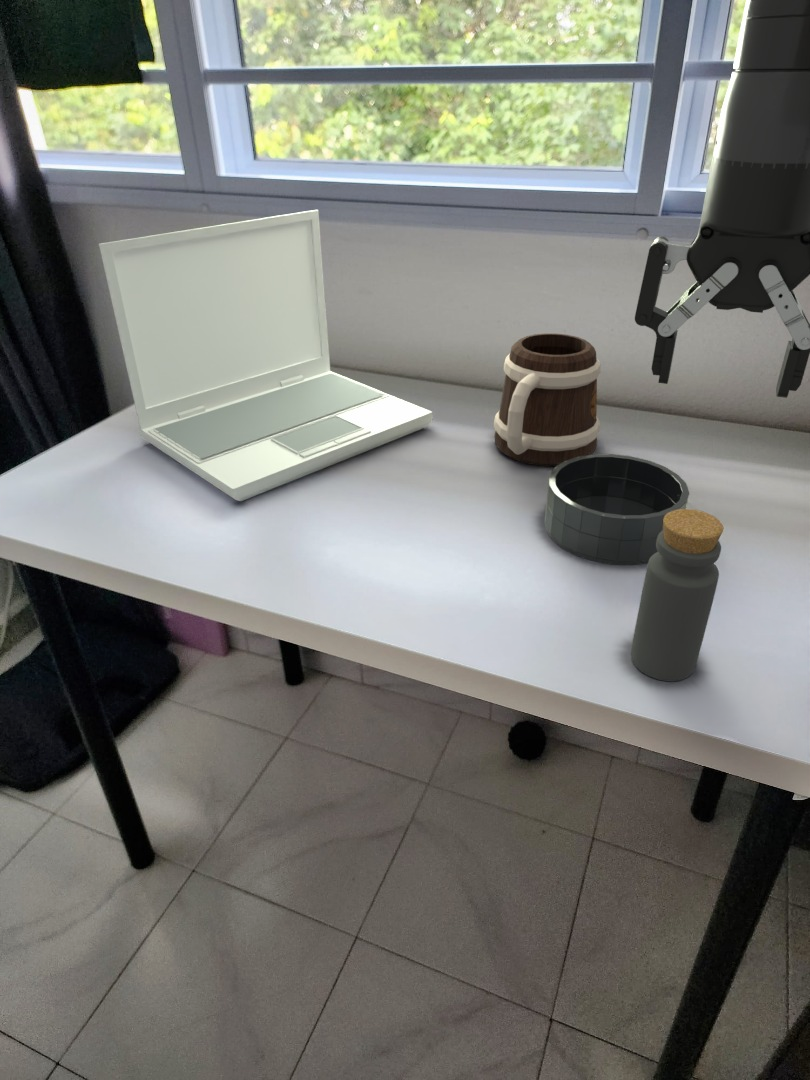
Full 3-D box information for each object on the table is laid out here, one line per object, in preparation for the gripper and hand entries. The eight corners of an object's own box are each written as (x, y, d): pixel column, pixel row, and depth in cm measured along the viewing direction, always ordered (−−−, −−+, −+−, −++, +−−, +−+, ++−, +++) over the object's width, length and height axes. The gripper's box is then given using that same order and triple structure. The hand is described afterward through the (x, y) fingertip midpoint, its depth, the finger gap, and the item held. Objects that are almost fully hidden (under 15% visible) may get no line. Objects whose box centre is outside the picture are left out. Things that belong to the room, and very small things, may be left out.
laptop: (235, 507, 95) (198, 277, 80) (141, 443, 112) (96, 243, 96) (432, 427, 115) (433, 230, 99) (327, 383, 131) (314, 209, 116)
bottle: (617, 650, 71) (641, 514, 63) (665, 633, 73) (695, 499, 65) (658, 689, 66) (691, 548, 58) (709, 670, 68) (747, 531, 60)
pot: (701, 523, 90) (711, 479, 87) (640, 582, 80) (649, 534, 77) (586, 484, 99) (591, 442, 96) (519, 532, 89) (522, 488, 86)
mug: (518, 417, 118) (525, 321, 109) (611, 437, 111) (626, 337, 103) (458, 467, 103) (460, 362, 95) (561, 494, 97) (573, 383, 88)
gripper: (656, 155, 48) (620, 393, 57) (907, 160, 44) (827, 418, 53) (666, 144, 54) (632, 361, 63) (889, 148, 50) (819, 381, 58)
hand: (721, 387), depth 58 cm, fingers open, 8 cm apart
